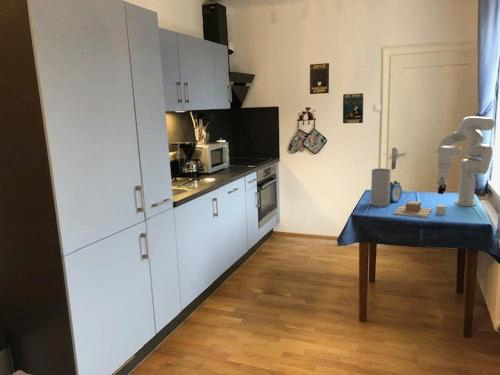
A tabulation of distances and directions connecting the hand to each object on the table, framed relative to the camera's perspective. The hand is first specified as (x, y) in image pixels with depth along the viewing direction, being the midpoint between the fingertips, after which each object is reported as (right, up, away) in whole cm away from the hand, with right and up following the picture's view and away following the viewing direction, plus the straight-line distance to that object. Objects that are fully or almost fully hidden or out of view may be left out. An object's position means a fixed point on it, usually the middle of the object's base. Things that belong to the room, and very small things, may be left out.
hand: (441, 192), depth 260 cm
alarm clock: (-19, -7, +36) cm, 41 cm away
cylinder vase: (-31, -9, +28) cm, 43 cm away
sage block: (+1, -14, +3) cm, 14 cm away
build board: (-15, -13, +7) cm, 21 cm away
